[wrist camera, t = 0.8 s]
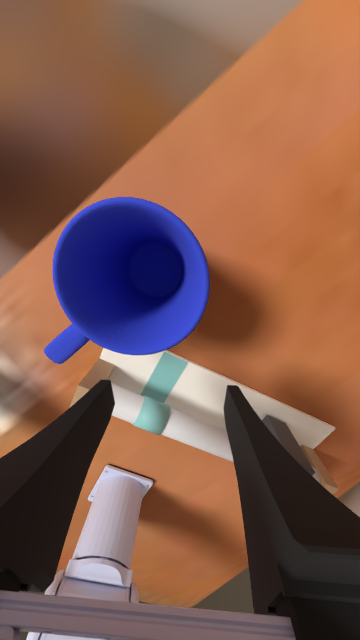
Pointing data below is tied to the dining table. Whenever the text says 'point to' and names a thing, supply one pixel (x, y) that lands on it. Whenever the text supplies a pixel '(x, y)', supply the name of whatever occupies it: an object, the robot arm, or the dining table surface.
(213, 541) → the dining table surface
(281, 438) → the collar
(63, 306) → the mug
